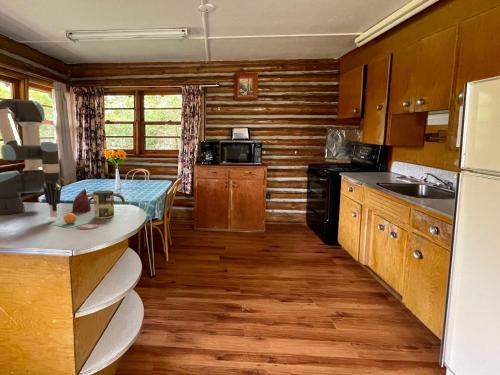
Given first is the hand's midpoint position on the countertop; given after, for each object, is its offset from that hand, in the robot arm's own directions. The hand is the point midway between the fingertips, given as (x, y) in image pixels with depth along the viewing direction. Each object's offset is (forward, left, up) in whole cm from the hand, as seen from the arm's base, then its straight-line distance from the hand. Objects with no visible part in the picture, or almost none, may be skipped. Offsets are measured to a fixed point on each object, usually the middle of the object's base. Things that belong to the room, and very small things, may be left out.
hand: (53, 216), depth 175 cm
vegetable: (-10, +24, -2) cm, 26 cm away
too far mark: (+26, 0, -2) cm, 26 cm away
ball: (+13, 0, +1) cm, 13 cm away
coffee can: (+14, +20, -2) cm, 25 cm away
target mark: (+14, 0, -2) cm, 14 cm away
